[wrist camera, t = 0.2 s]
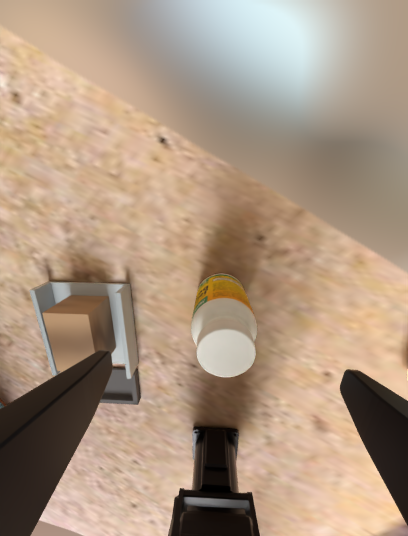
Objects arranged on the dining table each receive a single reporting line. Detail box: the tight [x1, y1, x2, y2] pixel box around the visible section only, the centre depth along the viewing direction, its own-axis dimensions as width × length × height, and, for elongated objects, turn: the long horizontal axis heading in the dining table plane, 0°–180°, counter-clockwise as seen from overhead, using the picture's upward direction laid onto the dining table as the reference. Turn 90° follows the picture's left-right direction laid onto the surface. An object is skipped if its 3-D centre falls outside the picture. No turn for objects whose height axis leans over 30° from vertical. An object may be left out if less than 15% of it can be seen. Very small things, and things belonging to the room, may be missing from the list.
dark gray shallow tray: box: [99, 368, 141, 405], centre depth 27 cm, size 5×9×1 cm, turn 89°
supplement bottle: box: [191, 273, 257, 377], centre depth 18 cm, size 5×5×10 cm
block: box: [42, 295, 116, 371], centre depth 22 cm, size 7×4×4 cm, turn 179°
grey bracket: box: [30, 281, 139, 379], centre depth 23 cm, size 11×10×2 cm
